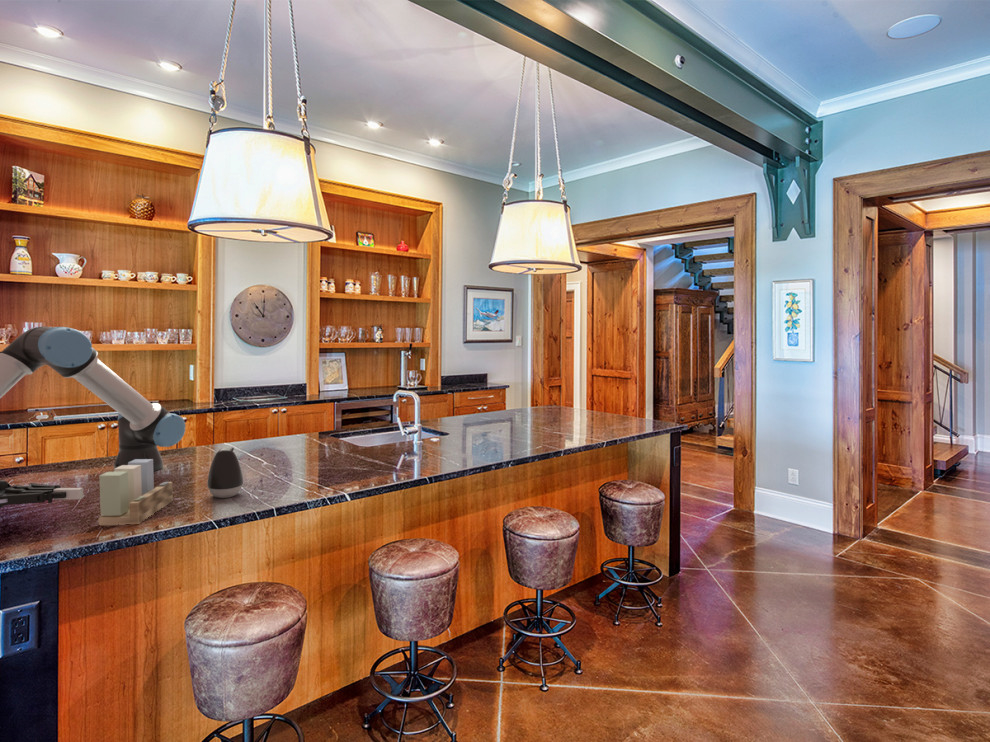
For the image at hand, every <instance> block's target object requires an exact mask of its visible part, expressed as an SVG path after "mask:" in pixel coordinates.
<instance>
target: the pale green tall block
mask: <svg viewBox="0 0 990 742" xmlns="http://www.w3.org/2000/svg"><path fill="white" fill-rule="evenodd" d="M98 478H99V504H100V506H99V507H100V509H99V510H100V517H101V516H121V515H122V514H124V513H126V512H127V511H129V500H128V472H114V471H106V472H104V473H102V474H100V475H99V477H98Z"/></svg>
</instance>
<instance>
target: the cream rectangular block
mask: <svg viewBox="0 0 990 742" xmlns="http://www.w3.org/2000/svg"><path fill="white" fill-rule="evenodd" d="M113 472H128V500H129V503H131V502H132V501H134V499H136V498H138V497H139V496H142V485H141V465H122V466H119V467H117V468H115V469H114V468H113ZM129 507H130V505H129Z"/></svg>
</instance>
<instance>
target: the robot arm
mask: <svg viewBox="0 0 990 742" xmlns="http://www.w3.org/2000/svg"><path fill="white" fill-rule="evenodd" d="M98 354H99V352H98V351H97V349H95V348H94V347H93V343H92V342H91V339H90V338H89V337H88V336H87V335H86V334H85V333H84V332H82V331H80V330H78V329H75V328H71V327H67V326H36V327H33V328H30V329H27V330H26V331H24V332H23V333H21V334H20V335H19V336H17V337H16V338H15V339H14V340H13V341H12V342H11V343H9V345H7V346H6V347H5V348H4V349H2V351H0V399H1V398H3V397H4V396H5V395H6V394H7V393H8V392H9V391H10V390H11V389H12V388H13V387H14V386H16V384H17V383H19V381H21V379H23V378H24V377H25V376H28V375H33V373H35V372H36V371H37V370H38V369H40V368H42V367H43V366H46V365H47V366H48V367H49V368H50V369H52V370H53V371H55V372H56V373H58V374H59V375H60V376H61V377H63V378H65V379H68V378H69V379H74V380H76V381H77V382H78V383H80V385H82V386H83V387H85V389H87V390H89V391H90V392H91V393H92V394H93V395H95V396H96V397H98V398H99V399H100V400H101V401H103V402H104V403H106V404H107V405H108V406H109V408H112V409H113V410H114V411H116V412H117V413H118V414H117V424H118V425H117V426H118V430H117V431H118V453H117V456H116V459H115V462H114V464H113V470H114V469H115V468H117V467H119V466H122V465H128V462H130V461H133V460H135V459H153V472H156V471H159V470H160V469H161V470H162V468H163V467H164V461H163V457H162V455H161V453H160V451H159V449H158V447H160V448H164V447H165V448H169V447H173V446H175V445H176V444H178V443H179V442H180V441H182V439H183V437H184V436H185V434H186V433H185V432H186V422H185V419H184V418H183V417H182V416H181V415H178V414H177V413H171V412H169V411H168V410H167V409H166V408H165V407H163V406H162V405H161V404H160V403H159V402H153V403H151V402H150V401H149V400H148V399H147V398H145V397H144V396H143V395H142V394H141V393H139V392H138V390H136V389H135V388H134V387H132V386H131V385H130V384H128V383H127V382H126V381H125V380H124V379H123V378H121V377H120V376H119V375H118V374H117V373H116V372H114V371H113V370H112V369H111V368H109V366H107V365H106V364H105V363H103V362H102V361H101V360H100V359H99V358H98V356H99V355H98ZM83 498H84V487H62V486H61V485H59V484H56V485H55V484H41V483H39V484H38V483H36V482H31V483H28V485H21V484H16V485H11V484H9V482H8V481H6V480H4V479H0V509H2V508H4V507H6V506H14V505H27V504H40V503H41V504H42V503H45V502H46V501H47V504H52V503H53V502H54V501H55V500H56V501H58V500H63V501H64V500H65V501H66V500H68V501H69V500H81V499H83Z"/></svg>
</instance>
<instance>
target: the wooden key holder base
mask: <svg viewBox="0 0 990 742" xmlns="http://www.w3.org/2000/svg"><path fill="white" fill-rule="evenodd" d="M173 493H174V492H173V481H163V482H162V483H159V485H158V486H155V487H154V489H152V490H151V491H149V492H147V493H146V494H144V495H142V496H139V497H138V498H136V499H134V501H132V502H131V503H129V505H130V507H129V511H127V512H126V513H124V514H122V515H121V516H101V515H100V517H98V526H99V525H100V526H126V525H125V524H139V525H140V524H141V523H143V522H144V521H146V520H147V519H149V518H150V517H152V516H153V515H155V514H156V513H157V511H158V512H159V511H160V510H162V509H163V508H165V507H166V506H168V505H169V504H171V503H172V502H173V496H174V494H173ZM161 508H162V509H161ZM155 512H156V513H155ZM154 513H155V514H154ZM151 515H152V516H151ZM149 516H150V517H149ZM148 517H149V518H148ZM145 519H146V520H145ZM142 521H143V522H142ZM118 524H119V525H118Z"/></svg>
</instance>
